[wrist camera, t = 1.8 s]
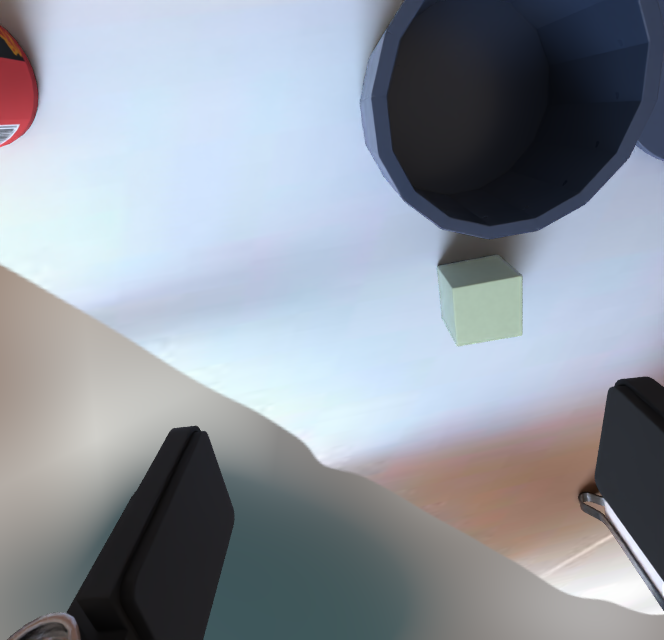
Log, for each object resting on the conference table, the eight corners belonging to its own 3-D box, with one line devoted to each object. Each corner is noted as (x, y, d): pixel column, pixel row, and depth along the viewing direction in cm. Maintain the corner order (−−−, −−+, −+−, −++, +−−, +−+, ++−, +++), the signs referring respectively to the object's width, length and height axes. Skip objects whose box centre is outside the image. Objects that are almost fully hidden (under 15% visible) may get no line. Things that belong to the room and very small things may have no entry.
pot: (390, -42, 24) (421, -132, 15) (591, 13, 25) (728, -41, 16) (342, 181, 29) (345, 208, 20) (509, 218, 30) (579, 259, 21)
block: (436, 265, 32) (452, 288, 27) (498, 254, 31) (522, 275, 27) (441, 318, 34) (456, 347, 29) (499, 308, 33) (522, 335, 29)
